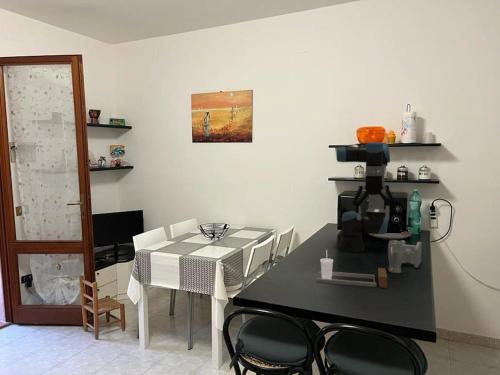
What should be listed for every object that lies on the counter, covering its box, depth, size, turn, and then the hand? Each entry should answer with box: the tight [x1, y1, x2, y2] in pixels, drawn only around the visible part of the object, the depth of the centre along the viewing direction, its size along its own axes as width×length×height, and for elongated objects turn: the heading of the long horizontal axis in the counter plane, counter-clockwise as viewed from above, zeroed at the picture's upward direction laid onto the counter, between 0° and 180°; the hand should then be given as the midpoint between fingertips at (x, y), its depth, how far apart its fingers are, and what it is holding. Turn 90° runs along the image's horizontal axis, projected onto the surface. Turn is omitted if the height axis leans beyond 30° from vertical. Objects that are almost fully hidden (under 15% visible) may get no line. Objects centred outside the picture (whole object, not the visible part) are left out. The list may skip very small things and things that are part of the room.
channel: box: [316, 267, 388, 289], centre depth 170 cm, size 30×12×5 cm, turn 74°
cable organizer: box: [400, 239, 422, 269], centre depth 191 cm, size 15×11×12 cm
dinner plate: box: [369, 230, 411, 241], centre depth 251 cm, size 27×27×3 cm
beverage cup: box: [319, 249, 334, 279], centre depth 173 cm, size 6×6×14 cm
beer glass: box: [387, 240, 403, 274], centre depth 181 cm, size 7×7×15 cm
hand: (373, 219), depth 174 cm, fingers open, 13 cm apart
